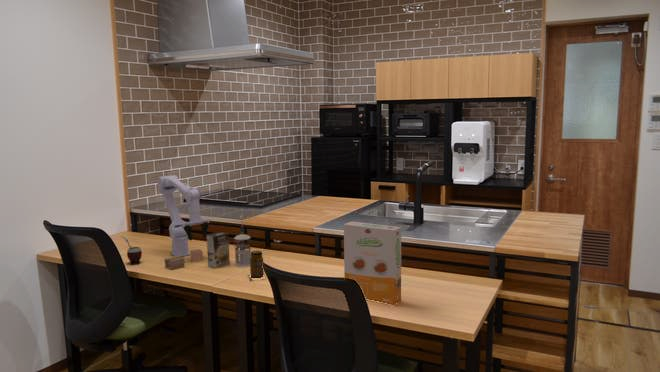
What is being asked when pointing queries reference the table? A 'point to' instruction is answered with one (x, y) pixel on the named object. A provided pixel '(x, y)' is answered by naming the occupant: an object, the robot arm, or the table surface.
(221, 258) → the coffee box
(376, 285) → the cereal box
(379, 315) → the table surface
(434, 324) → the table surface
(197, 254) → the block
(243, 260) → the french press
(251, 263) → the condiment
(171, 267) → the tower base
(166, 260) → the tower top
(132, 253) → the mate gourd
